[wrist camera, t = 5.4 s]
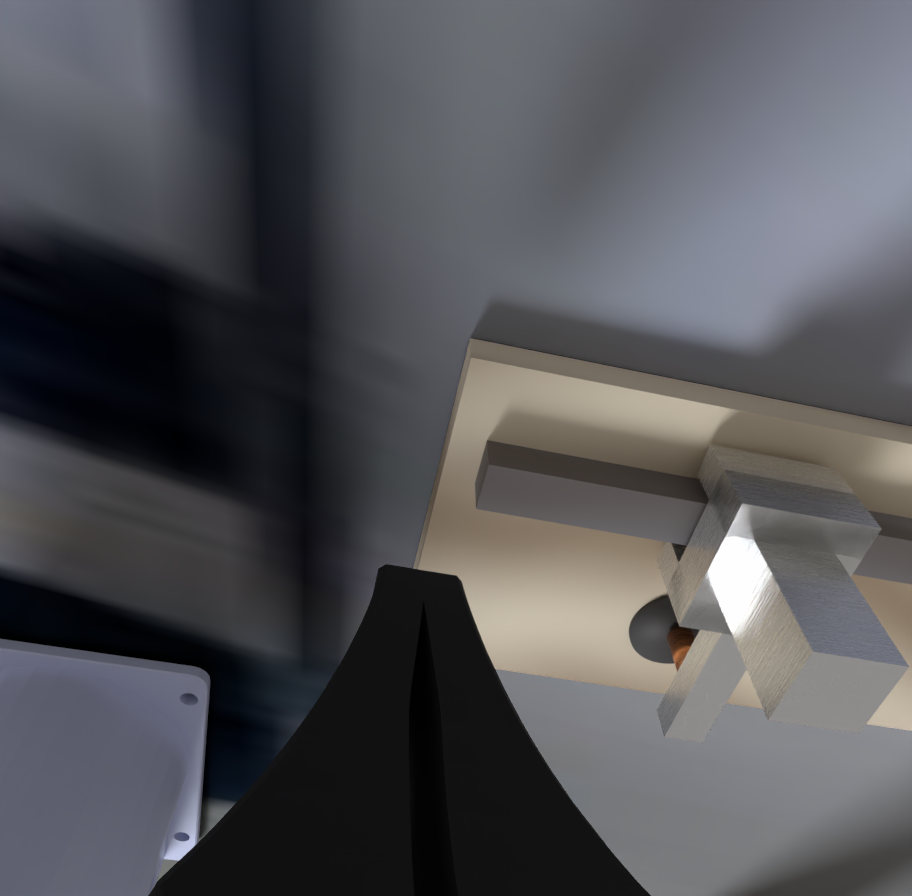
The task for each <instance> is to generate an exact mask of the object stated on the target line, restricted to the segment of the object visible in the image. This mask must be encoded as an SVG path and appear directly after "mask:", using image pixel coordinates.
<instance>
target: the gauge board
mask: <svg viewBox="0 0 912 896" xmlns="http://www.w3.org/2000/svg"><path fill="white" fill-rule="evenodd" d="M710 444H711V445H716V446H721V447H726V448H732V449H737V450H742V451H747V452H753V453H758V454H763V455H768V456H774V457H779V458H784V459H789V460H795V461H800V462H805V463H810V464H815V465H821V466H826V467H831V468H836V470H837V471H838V472H839V474H840V475H841V476H842V478H843V479H844V480H845V482H846V483H847V484H848V485H849V487H850V488H851V489H852V491H853V492H854V493H855V495H856V496H857V497H858V498H859V500H860V501H861V502H862V504H863V505H864V506H865V508H866V509H867V510H868V512H869V513H870V514H871V515H872V517H873V518H874V519H875V521H876V522H877V523H878V525H879V526H880V527H881V528H882V529H881V531H880V532H879V534H878V535H877V537H876V539H875V540H874V542H873V543H872V545H871V546H870V548H869V549H868V551H867V553H866V554H865V556H864V557H863V559H862V560H861V562H860V563H859V565H858V567H857V568H856V570H855V571H854V573H853V574H852V576H851V578H852V580H853V581H854V583H855V585H856V586H857V588H858V589H859V591H860V592H861V594H862V595H863V597H864V598H865V600H866V601H867V603H868V604H869V606H870V607H871V609H872V610H873V612H874V614H875V615H876V617H877V618H878V620H879V621H880V623H881V624H882V626H883V627H884V629H885V630H886V632H887V633H888V635H889V636H890V638H891V639H892V641H893V643H894V644H895V646H896V647H897V649H898V650H899V652H900V653H901V655H902V656H903V658H904V659H905V661H906V662H907V664H908V665H909V668H908V670H907V671H906V672H905V674H904V675H903V676H902V677H901V679H900V680H899V681H898V683H897V684H896V685H895V687H894V688H893V689H892V691H891V692H890V693H889V695H888V696H887V697H886V699H885V700H884V701H883V703H882V704H881V705H880V706H879V708H878V709H877V710H876V712H875V713H874V714H873V716H872V717H871V718H870V720H869V721H868V722H867V724H870V725H876V726H883V727H890V728H897V729H903V730H910V731H912V426H907V425H902V424H897V423H892V422H887V421H882V420H877V419H872V418H867V417H862V416H857V415H852V414H847V413H842V412H837V411H832V410H827V409H822V408H817V407H812V406H807V405H802V404H797V403H792V402H787V401H782V400H777V399H772V398H767V397H762V396H757V395H752V394H747V393H742V392H737V391H732V390H727V389H722V388H717V387H712V386H707V385H702V384H697V383H692V382H687V381H682V380H677V379H672V378H667V377H662V376H657V375H652V374H647V373H642V372H637V371H632V370H627V369H622V368H617V367H612V366H607V365H602V364H597V363H592V362H587V361H582V360H577V359H572V358H567V357H562V356H557V355H552V354H547V353H542V352H537V351H532V350H527V349H522V348H517V347H512V346H507V345H502V344H497V343H492V342H487V341H482V340H477V339H472V338H470V340H469V344H468V349H467V353H466V357H465V361H464V365H463V369H462V373H461V377H460V381H459V385H458V389H457V393H456V397H455V401H454V405H453V409H452V413H451V417H450V421H449V425H448V429H447V433H446V437H445V442H444V446H443V450H442V454H441V458H440V462H439V466H438V470H437V474H436V478H435V482H434V486H433V490H432V494H431V498H430V502H429V506H428V510H427V514H426V518H425V522H424V526H423V531H422V535H421V539H420V543H419V547H418V551H417V555H416V559H415V563H414V567H413V569H418V570H425V571H431V572H437V573H444V574H450V575H456V576H458V577H459V579H460V580H461V581H462V584H463V588H464V591H465V594H466V598H467V601H468V604H469V606H470V609H471V612H472V615H473V618H474V620H475V623H476V625H477V628H478V631H479V633H480V636H481V638H482V641H483V643H484V645H485V648H486V650H487V652H488V655H489V657H490V659H491V661H492V663H493V666H494V668H495V669H500V670H507V671H513V672H520V673H527V674H533V675H540V676H547V677H554V678H560V679H567V680H574V681H581V682H587V683H594V684H601V685H607V686H614V687H621V688H628V689H634V690H641V691H648V692H654V693H661V694H666V692H667V690H668V689H669V687H670V685H671V683H672V681H673V679H674V677H675V675H676V674H677V669H676V666H675V663H674V660H673V657H672V654H671V651H670V648H669V645H668V641H667V635H668V633H669V632H670V631H671V630H672V629H674V628H677V627H680V626H679V624H678V621H677V618H676V616H675V613H674V610H673V607H672V604H671V601H670V598H669V595H668V592H667V590H666V587H665V584H664V581H663V578H662V575H661V572H660V569H659V566H658V564H657V559H658V556H659V554H660V552H661V550H662V548H663V546H664V543H665V542H669V543H675V544H681V545H686V546H687V545H688V543H689V541H690V539H691V537H692V535H693V533H694V530H695V528H696V526H697V524H698V522H699V520H700V518H701V516H702V514H703V512H704V510H705V508H706V506H707V504H708V501H709V498H708V496H707V494H706V492H705V490H704V488H703V486H702V484H701V482H700V480H699V478H698V476H697V472H698V470H699V468H700V466H701V463H702V461H703V459H704V457H705V455H706V453H707V450H708V448H709V446H710ZM690 629H691V630H692V631H693V633H694V636H695V638H696V636H697V634H698V632H699V630H698V629H692V628H690ZM727 703H728V704H735V705H742V706H749V707H755V708H762V709H763V707H762V705H761V702H760V700H759V697H758V695H757V693H756V690H755V688H754V686H753V683H752V681H751V678H750V676H749V674H748V671H747V670H746V671H745V673H744V675H743V676H742V678H741V680H740V681H739V683H738V685H737V686H736V688H735V690H734V691H733V693H732V695H731V696H730V698H729V700H728V701H727Z"/></svg>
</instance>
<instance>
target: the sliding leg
mask: <svg viewBox="0 0 912 896" xmlns="http://www.w3.org/2000/svg"><path fill="white" fill-rule="evenodd" d="M697 476H698V478H699V480H700V482H701V484H702V486H703V488H704V490H705V492H706V494H707V496H708V498H709V501H708V504H707V506H706V508H705V510H704V512H703V514H702V516H701V518H700V520H699V522H698V524H697V526H696V528H695V530H694V533H693V535H692V537H691V539H690V541H689V543H688V545H687V546H686V545H681V544H675V543H669V542H665V543H664V546H663V548H662V550H661V552H660V554H659V556H658V559H657V564H658V566H659V569H660V572H661V575H662V578H663V581H664V584H665V587H666V590H667V592H668V595H669V598H670V601H671V604H672V607H673V610H674V613H675V616H676V618H677V621H678V624H679V626H680V627H677V628H674V629H672V630H671V631H670V632H669V633H668V635H667V641H668V645H669V648H670V651H671V654H672V657H673V660H674V663H675V666H676V669H677V674H676V675H675V677H674V679H673V681H672V683H671V685H670V687H669V689H668V690H667V692H666V694H665V696H664V698H663V700H662V702H661V704H660V705H659V707H658V709H657V712H658V716H659V720H660V723H661V727H662V730H663V734H664V737H667V738H674V739H681V740H689V741H696V742H703V741H704V740H705V738H706V736H707V735H708V733H709V731H710V730H711V728H712V726H713V725H714V723H715V721H716V720H717V718H718V716H719V715H720V713H721V711H722V710H723V708H724V706H725V705H726V703H727V701H728V700H729V698H730V696H731V695H732V693H733V691H734V690H735V688H736V686H737V685H738V683H739V681H740V680H741V678H742V676H743V675H744V673H745V671H746V670H747V671H748V674H749V676H750V678H751V681H752V683H753V686H754V688H755V690H756V693H757V695H758V697H759V700H760V702H761V705H762V707H763V709H764V712H765V714H766V716H767V719H768V720H770V721H776V722H783V723H790V724H797V725H804V726H810V727H817V728H824V729H831V730H838V731H844V732H851V733H858V734H859V733H860V731H861V730H862V729H863V728H864V726H865V725H866V724H867V722H868V721H869V720H870V718H871V717H872V716H873V714H874V713H875V712H876V710H877V709H878V708H879V706H880V705H881V704H882V703H883V701H884V700H885V699H886V697H887V696H888V695H889V693H890V692H891V691H892V689H893V688H894V687H895V685H896V684H897V683H898V681H899V680H900V679H901V677H902V676H903V675H904V674H905V672H906V671H907V670H908V668H909V665H908V664H907V662H906V661H905V659H904V658H903V656H902V655H901V653H900V652H899V650H898V649H897V647H896V646H895V644H894V643H893V641H892V639H891V638H890V636H889V635H888V633H887V632H886V630H885V629H884V627H883V626H882V624H881V623H880V621H879V620H878V618H877V617H876V615H875V614H874V612H873V610H872V609H871V607H870V606H869V604H868V603H867V601H866V600H865V598H864V597H863V595H862V594H861V592H860V591H859V589H858V588H857V586H856V585H855V583H854V581H853V580H852V578H851V576H852V574H853V573H854V571H855V570H856V568H857V567H858V565H859V563H860V562H861V560H862V559H863V557H864V556H865V554H866V553H867V551H868V549H869V548H870V546H871V545H872V543H873V542H874V540H875V539H876V537H877V535H878V534H879V532H880V531H881V529H882V528H881V527H880V526H879V525H878V523H877V522H876V521H875V519H874V518H873V517H872V515H871V514H870V513H869V512H868V510H867V509H866V508H865V506H864V505H863V504H862V502H861V501H860V500H859V498H858V497H857V496H856V495H855V493H854V492H853V491H852V489H851V488H850V487H849V485H848V484H847V483H846V482H845V480H844V479H843V478H842V476H841V475H840V474H839V472H838V471H837V470H836V468H831V467H826V466H821V465H815V464H810V463H805V462H800V461H795V460H789V459H784V458H779V457H774V456H768V455H763V454H758V453H753V452H747V451H742V450H737V449H732V448H726V447H721V446H716V445H711V444H710V446H709V448H708V450H707V453H706V455H705V457H704V459H703V461H702V463H701V466H700V468H699V470H698V472H697ZM690 628H692V629H698V630H699V632H698V634H697V636H696V638H695V636H694V633H693V631H692V630H691V629H690Z"/></svg>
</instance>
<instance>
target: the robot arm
mask: <svg viewBox="0 0 912 896" xmlns="http://www.w3.org/2000/svg"><path fill="white" fill-rule="evenodd" d="M189 693H190V694H189ZM209 694H210V676H209V675H208V674H207V672H206V671H204V670H203V669H201V668H198V667H195V666H188V665H181V664H174V663H167V662H160V661H153V660H146V659H139V658H132V657H125V656H118V655H111V654H104V653H97V652H90V651H83V650H76V649H69V648H62V647H55V646H48V645H41V644H34V643H27V642H20V641H13V640H6V639H0V896H651V895H650V894H649V893H648V892H647V891H646V890H645V889H644V888H643V887H642V886H641V885H640V884H639V883H638V882H637V881H636V880H635V879H634V877H633V876H632V875H631V874H630V873H629V872H628V870H627V869H626V868H625V867H624V866H623V865H622V863H621V862H620V861H619V860H618V859H617V858H616V857H615V855H614V854H613V853H612V852H611V851H610V849H609V848H608V847H607V845H606V844H605V843H604V842H603V840H602V839H601V838H600V836H599V835H598V834H597V833H596V831H595V830H594V829H593V827H592V826H591V825H590V824H589V822H588V821H587V820H586V818H585V817H584V816H583V815H582V813H581V812H580V811H579V809H578V808H577V807H576V806H575V804H574V803H573V802H572V800H571V799H570V797H569V796H568V794H567V793H566V792H565V790H564V789H563V787H562V786H561V784H560V783H559V781H558V780H557V778H556V777H555V775H554V774H553V773H552V771H551V769H550V768H549V766H548V765H547V763H546V762H545V760H544V758H543V757H542V755H541V754H540V752H539V751H538V749H537V747H536V746H535V744H534V742H533V741H532V739H531V737H530V736H529V734H528V732H527V730H526V729H525V727H524V725H523V723H522V722H521V720H520V718H519V716H518V714H517V712H516V710H515V708H514V707H513V705H512V703H511V701H510V699H509V697H508V695H507V693H506V691H505V689H504V687H503V685H502V683H501V681H500V679H499V677H498V674H497V672H496V670H495V668H494V666H493V663H492V661H491V659H490V657H489V655H488V652H487V650H486V648H485V645H484V643H483V641H482V638H481V636H480V633H479V631H478V628H477V625H476V623H475V620H474V618H473V615H472V612H471V609H470V606H469V604H468V601H467V598H466V594H465V591H464V588H463V584H462V581H461V580H460V579H459V577H458V576H456V575H450V574H444V573H437V572H431V571H425V570H418V569H412V568H406V567H400V566H393V565H387V564H386V565H384V566H383V567H381V568H379V569H378V574H377V578H376V583H375V587H374V592H373V596H372V599H371V601H370V604H369V606H368V609H367V611H366V614H365V616H364V618H363V621H362V623H361V625H360V627H359V629H358V631H357V633H356V635H355V637H354V639H353V641H352V643H351V645H350V647H349V649H348V651H347V653H346V654H345V656H344V658H343V660H342V661H341V663H340V665H339V666H338V668H337V670H336V671H335V673H334V675H333V676H332V678H331V680H330V681H329V683H328V685H327V686H326V688H325V690H324V691H323V693H322V694H321V696H320V697H319V699H318V700H317V702H316V703H315V705H314V706H313V708H312V709H311V711H310V712H309V714H308V715H307V717H306V718H305V719H304V721H303V722H302V723H301V725H300V726H299V728H298V729H297V730H296V732H295V733H294V734H293V736H292V737H291V738H290V740H289V741H288V742H287V744H286V745H285V746H284V747H283V749H282V750H281V751H280V752H279V754H278V755H277V756H276V757H275V759H274V760H273V761H272V763H271V764H270V765H269V766H268V767H267V769H266V770H265V771H264V772H263V773H262V775H261V776H260V777H259V778H258V779H257V781H256V782H255V783H254V784H253V785H252V786H251V787H250V788H249V790H248V791H247V792H246V793H245V794H244V795H243V796H242V797H241V798H240V799H239V800H238V802H237V803H236V804H235V805H234V806H233V807H232V808H231V809H230V810H229V811H228V812H227V813H226V815H225V816H224V817H223V818H222V819H221V820H220V821H219V822H218V823H217V824H216V825H215V826H214V827H213V828H212V829H211V830H210V831H209V832H208V834H207V835H206V836H205V837H204V838H202V839H201V840H200V841H199V831H200V817H201V804H202V790H203V776H204V763H205V749H206V735H207V721H208V708H209ZM164 859H170V860H179V861H178V862H177V863H176V864H175V865H174V866H173V867H172V868H171V869H170V870H169V871H168V872H167V873H166V874H165V875H164V876H163V877H161V878H160V879H159V880H158V882H157V879H158V875H159V872H160V869H161V866H162V863H163V860H164ZM156 882H157V883H156Z"/></svg>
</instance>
